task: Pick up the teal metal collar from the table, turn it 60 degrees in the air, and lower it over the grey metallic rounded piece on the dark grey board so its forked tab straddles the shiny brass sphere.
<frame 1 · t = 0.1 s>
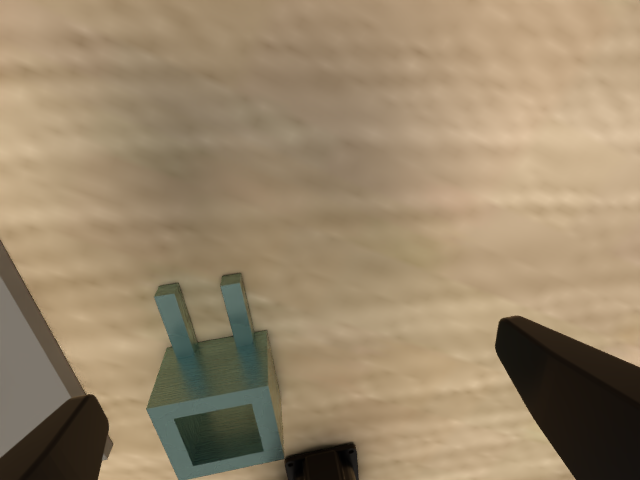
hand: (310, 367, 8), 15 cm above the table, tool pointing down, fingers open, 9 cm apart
teal collar: (227, 374, 26), on the table
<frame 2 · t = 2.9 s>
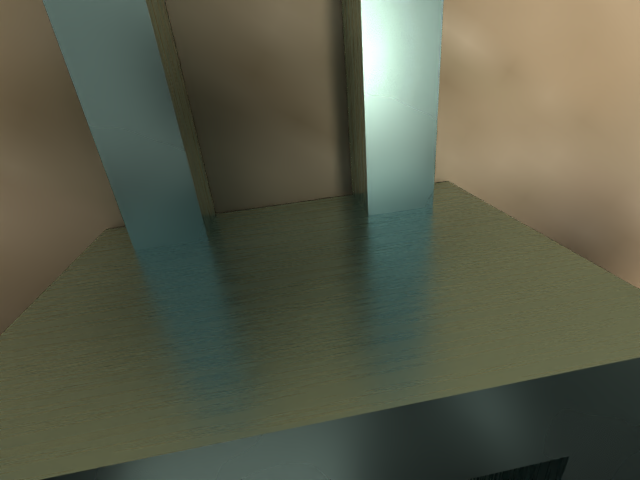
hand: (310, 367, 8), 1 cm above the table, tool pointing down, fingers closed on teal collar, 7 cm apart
teal collar: (304, 336, 9), on the table, touching gripper
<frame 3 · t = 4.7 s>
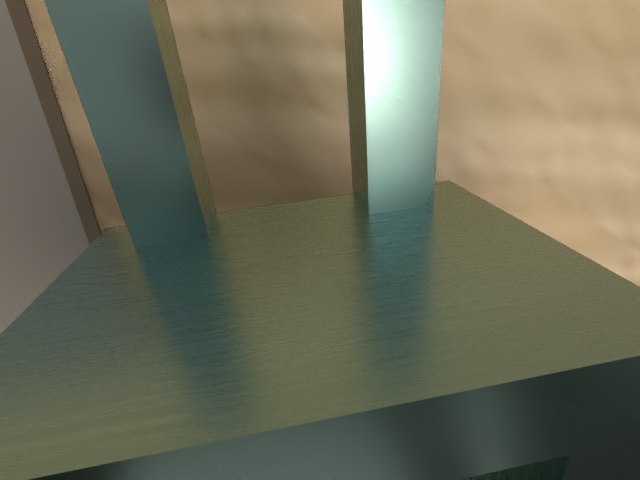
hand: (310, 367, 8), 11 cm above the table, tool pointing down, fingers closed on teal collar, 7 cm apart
teal collar: (305, 336, 9), point 10 cm above the table, touching gripper
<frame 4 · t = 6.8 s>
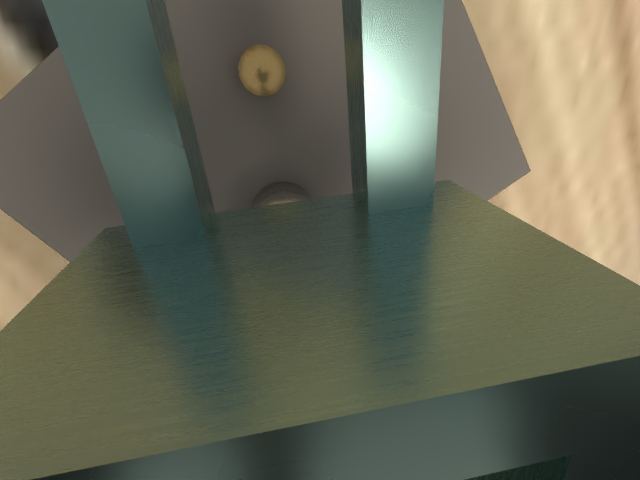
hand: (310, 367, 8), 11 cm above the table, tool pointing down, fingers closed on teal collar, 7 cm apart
post board: (272, 160, 17), on the table
shiny brass sphere: (261, 71, 15), resting on post board
teal collar: (304, 336, 9), point 10 cm above the table, touching gripper
grey metallic rounded piece: (281, 204, 18), resting on post board
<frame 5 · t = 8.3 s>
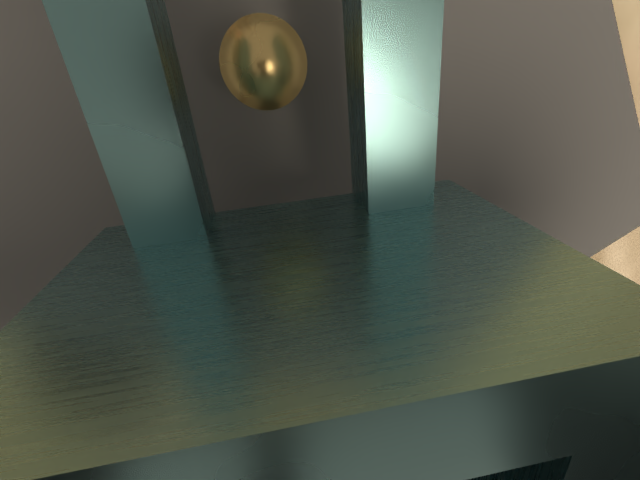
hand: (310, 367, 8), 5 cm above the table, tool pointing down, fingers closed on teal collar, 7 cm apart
post board: (278, 201, 11), on the table
shiny brass sphere: (262, 67, 9), resting on post board
teal collar: (304, 336, 9), point 4 cm above the table, touching gripper
when the fingers open (4 cm above the table, at t = 9.6 s): teal collar drops 1 cm, resting on post board.
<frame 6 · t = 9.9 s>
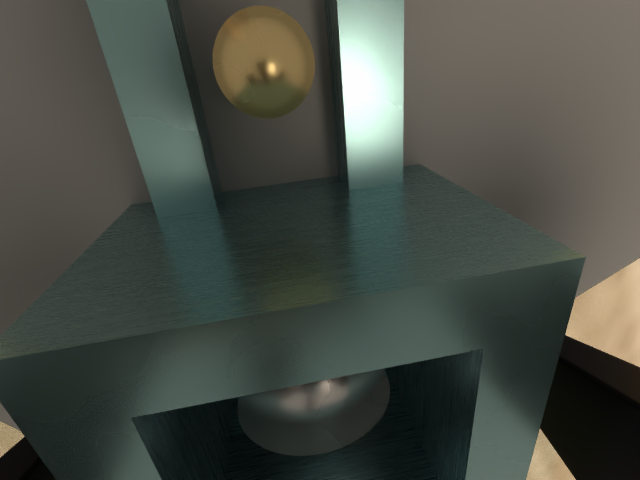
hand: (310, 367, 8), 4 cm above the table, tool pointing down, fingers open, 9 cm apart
post board: (280, 214, 10), on the table
shiny brass sphere: (263, 68, 8), resting on post board
teal collar: (299, 301, 10), point 1 cm above the table, touching post board
grey metallic rounded piece: (294, 279, 11), resting on post board
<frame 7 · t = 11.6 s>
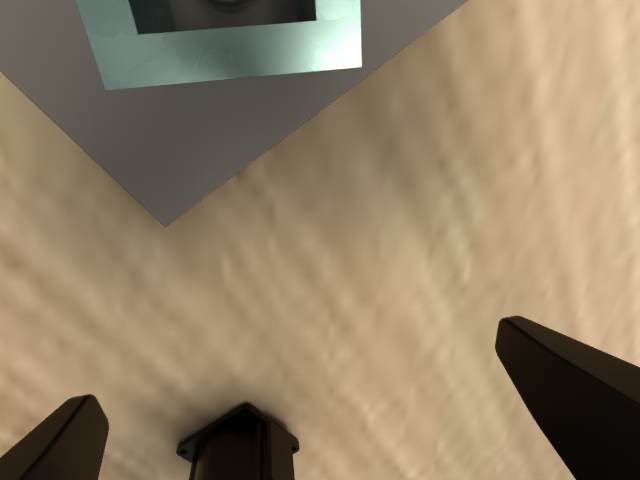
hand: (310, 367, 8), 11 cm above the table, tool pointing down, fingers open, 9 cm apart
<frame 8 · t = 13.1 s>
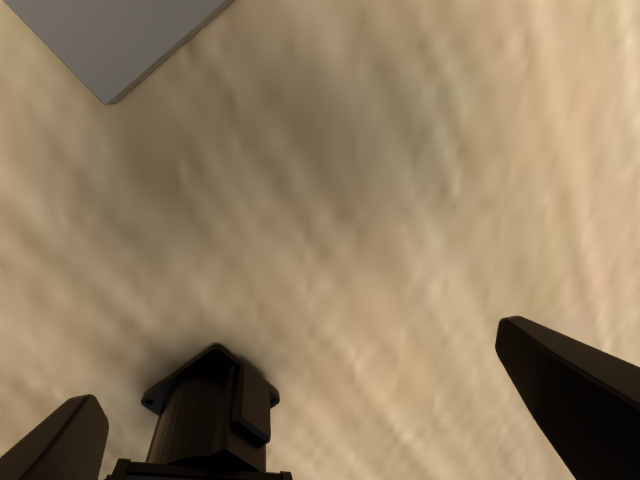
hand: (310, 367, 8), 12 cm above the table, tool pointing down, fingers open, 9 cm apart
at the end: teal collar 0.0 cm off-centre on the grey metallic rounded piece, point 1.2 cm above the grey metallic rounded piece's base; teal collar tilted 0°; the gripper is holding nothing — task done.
